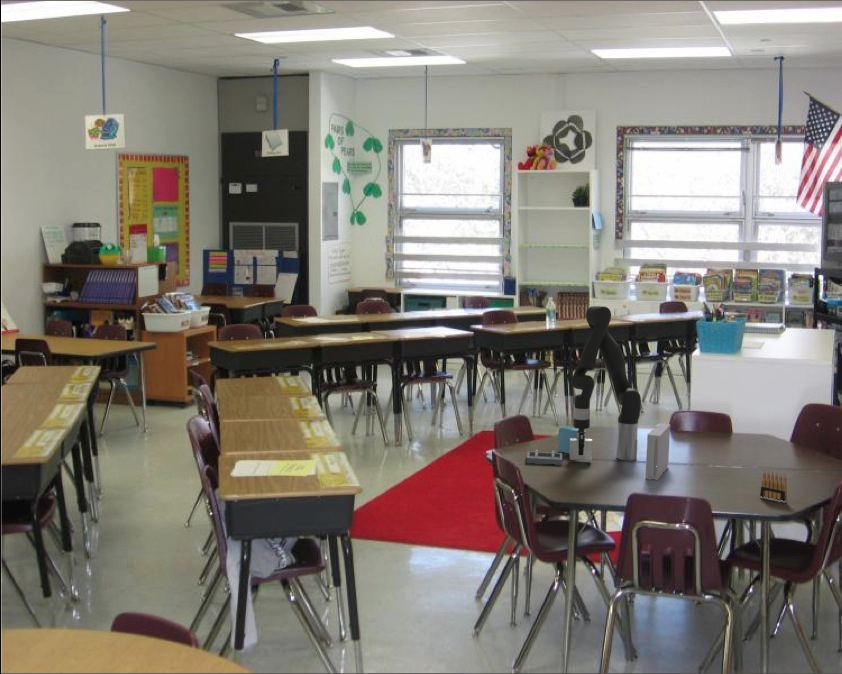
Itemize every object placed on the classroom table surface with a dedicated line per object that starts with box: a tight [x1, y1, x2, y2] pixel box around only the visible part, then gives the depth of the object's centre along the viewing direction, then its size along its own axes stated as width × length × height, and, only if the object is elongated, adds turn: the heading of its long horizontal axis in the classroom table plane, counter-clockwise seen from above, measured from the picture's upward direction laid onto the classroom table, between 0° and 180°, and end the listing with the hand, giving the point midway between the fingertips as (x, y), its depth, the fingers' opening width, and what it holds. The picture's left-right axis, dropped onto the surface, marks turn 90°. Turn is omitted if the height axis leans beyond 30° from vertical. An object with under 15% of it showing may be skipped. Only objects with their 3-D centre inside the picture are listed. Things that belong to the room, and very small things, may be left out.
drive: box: [569, 438, 593, 461], centre depth 517 cm, size 10×4×9 cm, turn 84°
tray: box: [526, 449, 563, 466], centre depth 518 cm, size 16×13×4 cm
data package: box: [557, 426, 578, 455], centre depth 535 cm, size 12×4×12 cm, turn 43°
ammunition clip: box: [759, 469, 788, 501], centre depth 459 cm, size 11×2×12 cm, turn 49°
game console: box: [644, 422, 671, 481], centre depth 500 cm, size 6×27×20 cm, turn 158°
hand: (580, 453), depth 517 cm, fingers closed on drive, 4 cm apart
